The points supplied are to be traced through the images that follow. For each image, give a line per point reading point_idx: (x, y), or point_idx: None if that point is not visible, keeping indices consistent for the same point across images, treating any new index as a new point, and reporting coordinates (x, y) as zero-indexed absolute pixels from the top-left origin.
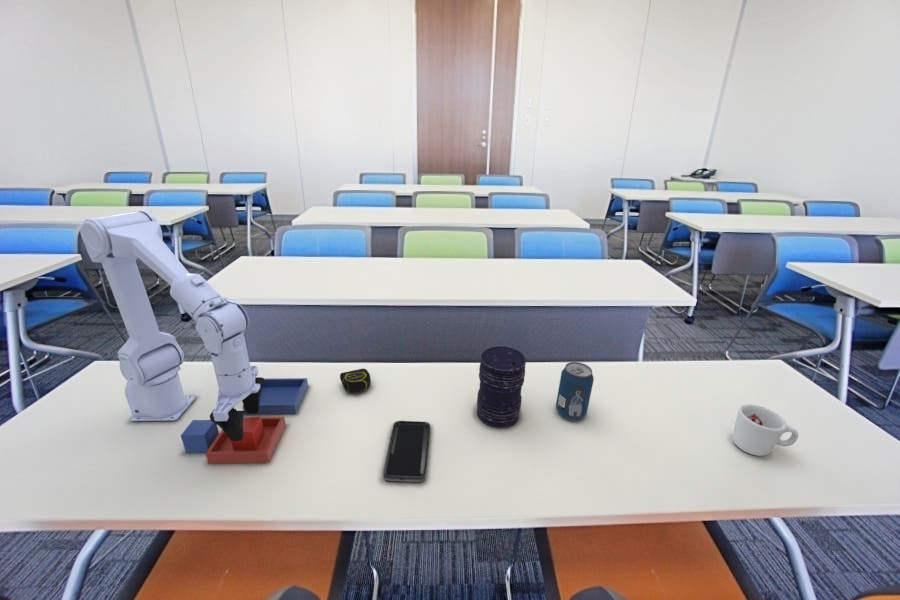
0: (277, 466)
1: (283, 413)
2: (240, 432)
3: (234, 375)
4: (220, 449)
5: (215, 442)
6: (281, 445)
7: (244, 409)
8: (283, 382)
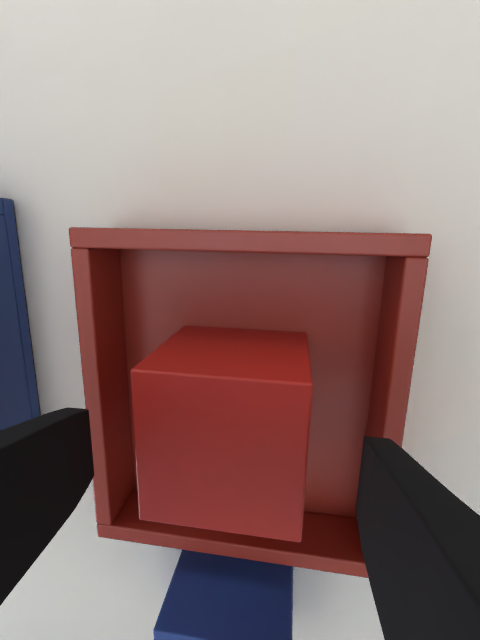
0: (443, 171)
1: (18, 273)
2: (453, 497)
3: None
4: None
5: (295, 557)
6: (266, 204)
7: None
8: None
